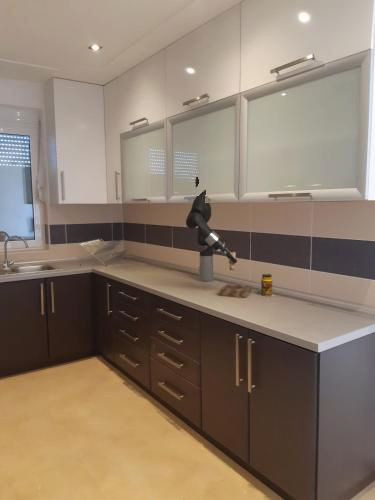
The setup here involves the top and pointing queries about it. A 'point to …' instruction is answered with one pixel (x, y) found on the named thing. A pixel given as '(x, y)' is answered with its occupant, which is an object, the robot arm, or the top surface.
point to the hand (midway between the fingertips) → (235, 261)
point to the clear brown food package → (236, 291)
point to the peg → (232, 265)
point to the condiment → (266, 285)
